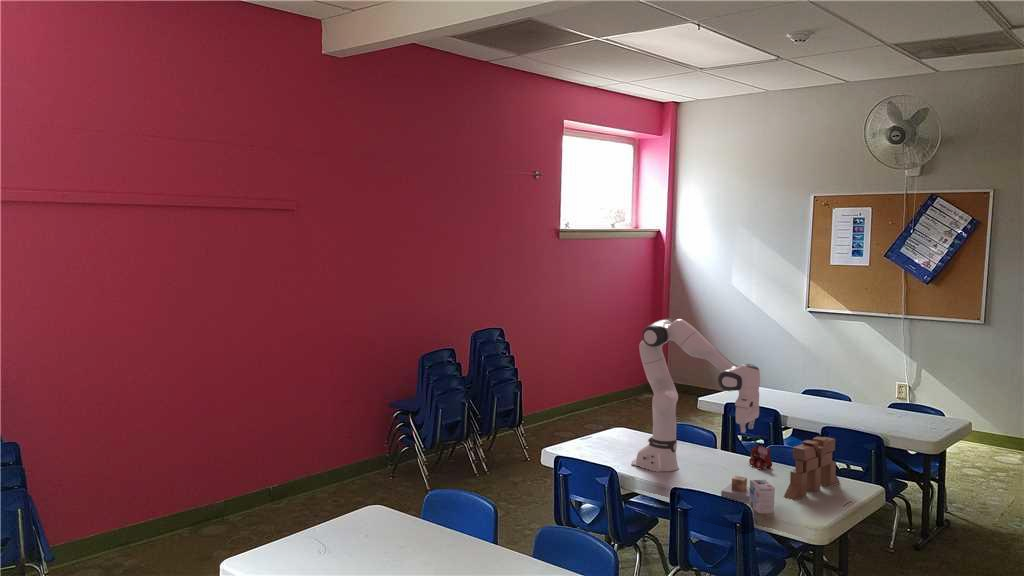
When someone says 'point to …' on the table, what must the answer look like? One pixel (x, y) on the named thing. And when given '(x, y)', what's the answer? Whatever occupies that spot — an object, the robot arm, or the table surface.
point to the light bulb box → (761, 496)
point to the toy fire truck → (760, 457)
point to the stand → (736, 493)
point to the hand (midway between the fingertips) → (746, 430)
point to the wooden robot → (812, 467)
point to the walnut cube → (739, 483)
